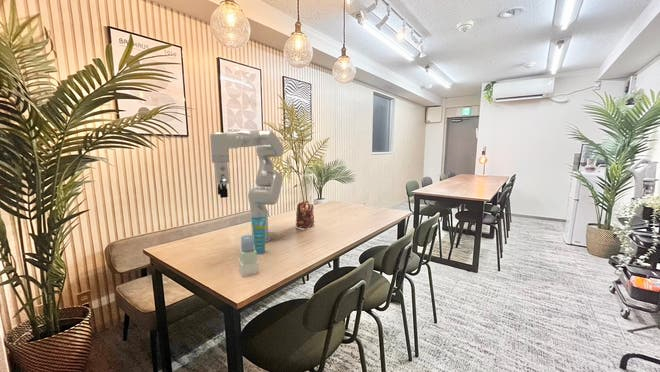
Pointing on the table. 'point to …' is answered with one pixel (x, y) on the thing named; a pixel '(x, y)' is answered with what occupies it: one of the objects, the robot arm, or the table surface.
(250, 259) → the block top
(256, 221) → the tube
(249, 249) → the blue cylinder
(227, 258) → the table surface
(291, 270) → the table surface
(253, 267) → the block base
